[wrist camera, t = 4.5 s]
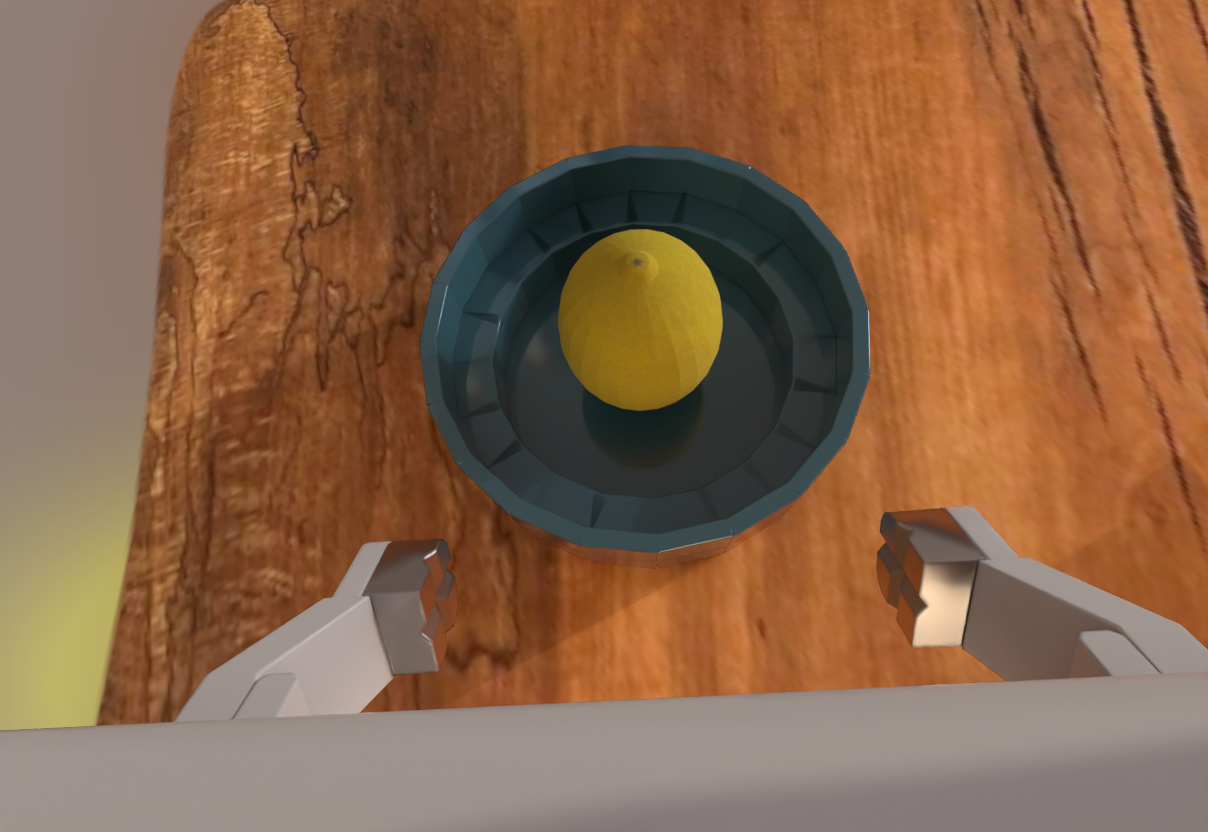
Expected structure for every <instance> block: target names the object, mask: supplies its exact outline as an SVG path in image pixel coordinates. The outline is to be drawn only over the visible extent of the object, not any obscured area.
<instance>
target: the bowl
mask: <svg viewBox="0 0 1208 832" xmlns="http://www.w3.org/2000/svg"><path fill="white" fill-rule="evenodd" d="M635 229H648V230H653V231H658V232H664V233H666V234H668V235H670V236H673V237H675V238H677V239H679V240H681V241H683V242H684V243H685V244H687V245H688V246H689V247H690V248H692V249H693V250H694V251H695V252H696V253H697V254H698V255H699V257H700V258H701V259H702V260H703V262H704V263H705V264H706V266H707V267H708V268H709V270H710V272H711V274H712V277H713V279H714V282H715V284H716V286H717V289H718V292H719V295H720V300H721V309H722V319H723V327H722V334H721V339H720V345H719V350H718V353H717V355H716V357H715V359H714V361H713V363H712V365H711V367H710V369H709V372H708V374H707V375H706V376H705V377H704V378H703V380H702V381H701V382H700V383H699V384H698V385H697V386H696V388H695V389H694V390H693V391H692V392H690V393H689V394H687V395H686V396H684V397H683V398H681V399H680V400H678V401H677V402H675V403H673V404H670V405H667V406H665V407H662V408H659V409H653V410H644V411H636V410H628V409H621V408H619V407H616V406H613V405H611V404H608V403H605V402H604V401H602V400H601V399H599V398H598V397H596V396H595V395H593V394H592V393H591V392H589V391H588V390H587V389H586V388H585V387H584V386H583V384H582V383H581V382H580V381H579V380H578V378H577V377H576V376H575V375H574V374H573V372H572V370H571V368H570V366H569V364H568V362H567V360H566V358H565V355H564V353H563V350H562V347H561V341H560V334H559V328H558V315H559V307H560V299H561V294H562V290H563V288H564V285H565V283H566V280H567V278H568V276H569V273H570V271H571V269H572V268H573V266H574V265H575V264H576V262H577V261H578V260H579V258H580V257H581V256H582V254H583V253H584V252H586V251H587V250H588V249H589V248H591V247H592V246H593V245H594V244H596V243H597V242H598V241H600V240H602V239H604V238H606V237H608V236H610V235H612V234H614V233H618V232H623V231H627V230H635ZM419 346H420V354H421V362H422V370H423V378H424V386H425V395H426V403H427V406H428V409H429V411H430V413H431V415H432V417H433V419H434V421H435V423H436V425H437V427H438V429H439V431H440V433H441V435H442V437H443V439H444V441H445V443H446V445H447V447H448V449H449V451H450V453H451V455H452V457H453V459H454V460H455V462H456V464H457V465H458V466H459V468H460V469H461V470H462V471H463V472H464V473H465V474H466V475H467V476H468V477H469V478H471V479H472V480H473V481H474V482H475V483H476V484H477V485H478V486H479V487H480V488H481V489H482V490H483V491H484V492H485V493H486V494H487V495H489V496H490V497H491V498H492V499H493V500H494V501H495V502H496V503H497V504H498V505H499V506H500V507H501V508H502V509H503V510H504V511H506V512H507V513H508V514H509V515H510V516H511V517H512V518H513V519H514V520H515V521H516V522H517V523H518V524H519V525H520V526H522V527H523V528H524V529H525V530H526V531H527V532H528V533H529V534H531V535H532V536H534V537H536V538H538V539H540V540H543V541H545V542H547V543H549V544H551V545H554V546H556V547H558V548H560V549H563V550H565V551H567V552H569V553H571V554H574V555H576V556H578V557H580V558H582V559H585V560H587V561H591V562H595V563H605V564H614V565H624V566H634V567H643V568H653V569H655V568H656V567H657V568H662V567H667V566H671V565H676V564H680V563H685V562H690V561H694V560H699V559H703V558H708V557H712V556H717V555H720V554H722V553H725V552H727V551H729V550H730V549H732V548H734V547H735V546H737V545H739V544H740V543H742V542H744V541H745V540H747V539H748V538H750V537H752V536H753V535H755V534H757V533H758V532H760V531H762V530H763V529H765V528H767V527H768V526H770V525H772V524H773V523H775V522H777V521H778V520H779V519H780V518H781V517H782V516H783V515H784V514H785V513H786V512H787V511H788V510H789V509H790V508H791V507H792V506H793V505H794V504H795V503H796V502H797V500H798V499H799V498H800V497H801V496H802V495H803V494H804V493H805V492H806V490H807V489H808V488H809V487H810V486H811V484H812V483H813V482H814V481H815V480H816V478H817V477H818V476H819V475H820V473H821V472H822V471H823V470H824V469H825V467H826V466H827V465H828V464H829V463H830V461H831V460H832V459H833V458H834V457H835V455H836V454H837V453H838V452H839V451H840V449H841V448H842V447H843V446H844V445H845V443H846V441H847V440H848V438H849V436H850V433H851V430H852V427H853V424H854V421H855V418H856V416H857V413H858V410H859V407H860V404H861V401H862V399H863V396H864V393H865V390H866V387H867V384H868V381H869V379H870V373H871V371H870V327H869V310H868V305H867V303H866V300H865V298H864V295H863V292H862V290H861V287H860V285H859V282H858V280H857V277H856V275H855V272H854V269H853V267H852V264H851V262H850V259H849V257H848V254H847V252H846V250H845V248H844V247H843V245H842V244H841V243H840V242H839V241H838V240H837V238H836V237H835V236H834V235H833V234H832V232H831V231H830V230H829V229H828V228H827V226H826V225H825V224H824V223H823V222H822V221H821V219H820V218H819V217H818V216H817V215H816V213H815V212H814V211H813V210H812V209H811V207H810V206H809V205H808V204H807V203H806V202H804V200H803V199H802V198H800V197H798V196H797V195H795V194H794V193H792V192H791V191H789V190H788V189H786V188H784V187H783V186H781V185H780V184H778V183H777V182H775V181H774V180H772V179H770V178H769V177H767V176H766V175H764V174H763V173H761V172H760V171H758V170H757V169H755V168H753V167H751V166H749V165H746V164H742V163H739V162H736V161H733V160H729V159H726V158H723V157H720V156H716V155H713V154H710V153H707V152H703V151H700V150H697V149H694V148H691V149H690V148H688V147H662V146H636V145H628V146H627V145H625V146H620V147H615V148H611V149H606V150H602V151H597V152H593V153H588V154H583V155H579V156H574V157H570V158H566V160H565V159H564V160H562V161H560V162H558V163H556V164H554V165H552V166H550V167H548V168H546V169H544V170H542V171H540V172H538V173H536V174H534V175H532V176H530V177H528V178H526V179H524V180H522V181H521V182H519V183H517V184H515V185H513V186H511V187H509V188H508V189H507V190H506V191H504V192H503V193H502V194H501V195H500V196H499V197H498V198H497V199H496V200H495V201H494V202H492V203H491V204H490V205H489V206H488V207H487V208H486V209H485V210H484V211H483V212H482V213H481V214H479V215H478V216H477V217H476V218H475V219H474V220H473V221H472V222H471V223H470V224H469V225H467V226H466V227H465V228H464V230H463V232H462V233H461V235H460V237H459V238H458V240H457V242H456V243H455V245H454V247H453V248H452V250H451V252H450V254H449V255H448V257H447V259H446V260H445V262H444V264H443V265H442V267H441V269H440V270H439V272H438V274H437V276H436V277H435V279H434V281H433V283H432V287H431V292H430V296H429V301H428V305H427V310H426V315H425V319H424V324H423V328H422V333H421V337H420V344H419Z"/></svg>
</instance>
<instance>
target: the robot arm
mask: <svg viewBox="0 0 1208 832" xmlns="http://www.w3.org/2000/svg"><path fill="white" fill-rule="evenodd" d="M880 533H881V534H882V536H883V538H884V539H885V541H886V543H885V544H884V545H883V546H882V547H881V548H880V549H879V550H878V552H877V564H876V568H877V576H878V583H879V586H880V589H881V592H882V594H883V596H884V598H885V600H886V602H887V603H889V604H890V605H892V606H894V607H895V608H897V609H898V612H897V622H898V624H899V626H900V627H901V629H902V631H903V633H904V635H905V636H906V638H907V640H908V642H909V644H910V645H911V647H952V646H962V649H964V650H965V651H966V652H968V653H969V654H970V655H972V656H973V657H974V658H976V659H977V660H978V661H980V662H981V663H982V664H984V665H985V666H987V667H988V668H989V669H991V670H992V671H993V672H995V673H996V674H997V675H999V676H1000V677H1001V678H1003V679H1004V680H1006V681H1004V682H983V683H963V684H943V685H922V686H902V687H882V688H861V689H841V690H821V691H800V692H780V693H760V694H739V695H719V696H698V697H678V698H657V699H637V700H616V701H596V702H575V703H555V704H534V705H514V706H493V707H473V708H452V709H432V710H411V711H391V712H370V713H360V712H361V711H362V710H363V709H364V708H365V707H366V706H367V705H368V704H369V703H370V702H371V701H372V699H373V698H374V697H375V696H376V695H377V694H378V693H379V692H380V691H381V690H382V689H383V688H384V687H385V686H386V685H387V684H388V683H389V682H390V681H391V680H392V679H393V676H394V675H407V674H419V673H432V672H440V669H441V666H442V663H443V660H444V656H445V653H446V650H447V647H448V641H447V636H446V632H448V631H449V630H450V629H451V628H452V627H454V624H455V620H456V617H457V609H458V589H457V583H456V578H455V576H454V575H453V574H452V573H451V572H450V571H448V570H447V567H448V564H449V561H450V558H451V556H450V552H449V549H448V545H447V542H446V541H445V540H444V539H430V540H405V541H392V542H391V541H383V542H368V543H366V544H364V545H362V546H361V548H360V549H359V551H358V553H357V555H356V556H355V558H354V560H353V562H352V563H351V565H350V567H349V569H348V570H347V572H346V574H345V576H344V577H343V579H342V581H341V582H340V584H339V586H338V588H337V589H336V591H335V593H334V595H333V596H332V598H324V599H322V600H321V601H319V602H317V603H316V604H314V605H313V606H311V607H310V608H308V609H307V610H305V611H304V612H302V613H301V614H299V615H298V616H296V617H294V618H293V619H291V620H290V621H288V622H287V623H285V624H284V625H282V626H281V627H279V628H278V629H276V630H275V631H273V632H271V633H270V634H268V635H267V636H265V637H264V638H262V639H261V640H259V641H258V642H256V643H255V644H253V645H252V646H250V647H248V648H247V649H245V650H244V651H242V652H241V653H239V654H238V655H236V656H235V657H233V658H232V659H230V660H229V661H227V662H225V663H224V664H222V665H221V666H219V667H218V668H216V669H215V670H213V671H212V672H210V673H209V674H207V675H206V676H205V677H204V679H203V680H202V682H201V683H200V684H199V686H198V687H197V689H196V690H195V691H194V693H193V694H192V696H191V697H190V698H189V700H188V701H187V703H186V704H185V705H184V707H183V708H182V710H181V711H180V712H179V714H178V715H177V717H176V718H175V719H174V721H173V722H166V723H146V724H126V725H105V726H87V727H65V728H45V729H25V730H4V731H0V832H1208V649H1206V648H1205V647H1204V646H1203V645H1202V644H1201V643H1200V642H1199V641H1198V640H1197V639H1196V638H1195V637H1194V636H1192V635H1191V634H1190V633H1189V632H1188V631H1187V630H1186V629H1185V628H1184V627H1183V626H1182V625H1180V624H1178V623H1176V622H1173V621H1171V620H1169V619H1167V618H1164V617H1162V616H1160V615H1157V614H1155V613H1153V612H1151V611H1148V610H1146V609H1144V608H1142V607H1139V606H1137V605H1135V604H1133V603H1130V602H1128V601H1126V600H1124V599H1121V598H1119V597H1117V596H1114V595H1112V594H1110V593H1108V592H1105V591H1103V590H1101V589H1099V588H1096V587H1094V586H1092V585H1090V584H1087V583H1085V582H1083V581H1081V580H1078V579H1076V578H1074V577H1071V576H1069V575H1067V574H1065V573H1062V572H1060V571H1058V570H1056V569H1053V568H1051V567H1049V566H1047V565H1044V564H1042V563H1040V562H1037V561H1035V560H1033V559H1031V558H1019V557H1018V555H1017V554H1016V553H1015V552H1014V551H1013V550H1012V549H1011V548H1010V547H1009V545H1008V544H1007V543H1006V542H1005V541H1004V540H1003V539H1002V538H1001V536H1000V535H999V534H998V533H997V532H996V531H995V530H994V529H993V528H992V526H991V525H990V524H989V523H988V522H987V521H986V520H985V519H984V518H983V516H982V515H981V514H980V513H979V512H978V511H977V510H976V509H975V508H974V507H972V506H969V505H964V506H953V507H942V508H938V509H925V510H911V511H898V512H885V513H884V514H883V517H882V519H881V525H880Z"/></svg>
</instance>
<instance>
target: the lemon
mask: <svg viewBox="0 0 1208 832" xmlns="http://www.w3.org/2000/svg"><path fill="white" fill-rule="evenodd" d="M722 327H723V319H722V309H721V300H720V295H719V292H718V289H717V286H716V284H715V282H714V279H713V277H712V274H711V272H710V270H709V268H708V267H707V266H706V264H705V263H704V262H703V260H702V259H701V258H700V257H699V255H698V254H697V253H696V252H695V251H694V250H693V249H692V248H690V247H689V246H688V245H687V244H685V243H684V242H683V241H681V240H679V239H677V238H675V237H673V236H670V235H668V234H666V233H664V232H658V231H653V230H648V229H635V230H627V231H623V232H618V233H614V234H612V235H610V236H608V237H606V238H604V239H602V240H600V241H598V242H597V243H596V244H594V245H593V246H592V247H591V248H589V249H588V250H587V251H586V252H584V253H583V254H582V256H581V257H580V258H579V260H578V261H577V262H576V264H575V265H574V266H573V268H572V269H571V271H570V273H569V276H568V278H567V280H566V283H565V285H564V288H563V290H562V294H561V299H560V307H559V315H558V328H559V334H560V341H561V347H562V350H563V353H564V355H565V358H566V360H567V362H568V364H569V366H570V368H571V370H572V372H573V374H574V375H575V376H576V377H577V378H578V380H579V381H580V382H581V383H582V384H583V386H584V387H585V388H586V389H587V390H588V391H589V392H591V393H592V394H593V395H595V396H596V397H598V398H599V399H601V400H602V401H604V402H605V403H608V404H611V405H613V406H616V407H619V408H621V409H628V410H636V411H644V410H653V409H659V408H662V407H665V406H667V405H670V404H673V403H675V402H677V401H678V400H680V399H681V398H683V397H684V396H686V395H687V394H689V393H690V392H692V391H693V390H694V389H695V388H696V386H697V385H698V384H699V383H700V382H701V381H702V380H703V378H704V377H705V376H706V375H707V374H708V372H709V369H710V367H711V365H712V363H713V361H714V359H715V357H716V355H717V353H718V350H719V345H720V339H721V334H722Z"/></svg>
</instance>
